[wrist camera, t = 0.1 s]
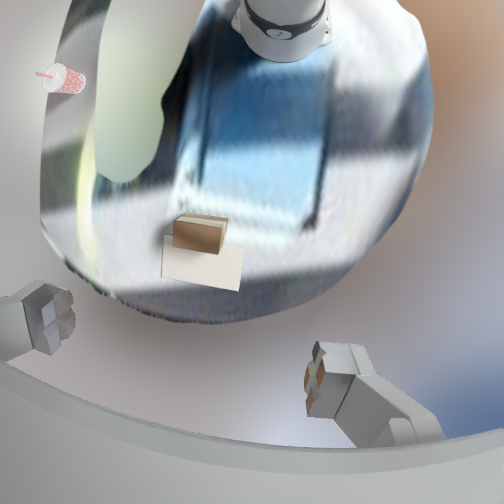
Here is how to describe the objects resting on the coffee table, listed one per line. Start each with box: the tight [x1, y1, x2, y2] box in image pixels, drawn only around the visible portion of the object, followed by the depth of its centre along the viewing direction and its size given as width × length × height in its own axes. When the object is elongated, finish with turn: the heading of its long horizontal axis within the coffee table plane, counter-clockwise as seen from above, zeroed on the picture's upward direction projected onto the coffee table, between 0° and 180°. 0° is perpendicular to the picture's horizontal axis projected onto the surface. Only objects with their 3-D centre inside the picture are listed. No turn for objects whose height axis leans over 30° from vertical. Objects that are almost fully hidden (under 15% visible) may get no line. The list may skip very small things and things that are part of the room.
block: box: [172, 212, 228, 255], centre depth 54 cm, size 4×8×8 cm, turn 81°
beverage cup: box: [36, 63, 86, 94], centre depth 43 cm, size 6×6×14 cm
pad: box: [162, 234, 245, 291], centre depth 60 cm, size 9×16×1 cm, turn 81°
